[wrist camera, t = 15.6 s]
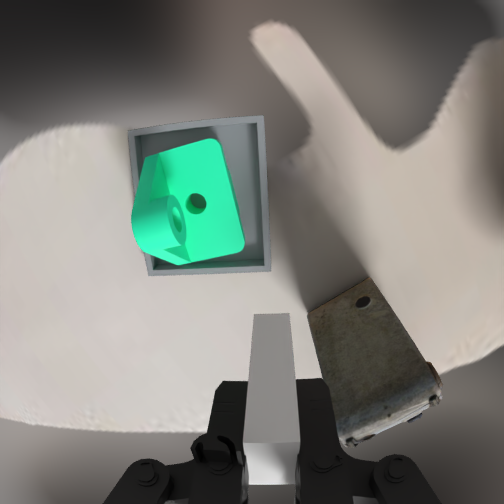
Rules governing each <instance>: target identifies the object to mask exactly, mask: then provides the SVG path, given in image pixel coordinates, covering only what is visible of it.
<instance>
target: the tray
mask: <svg viewBox="0 0 504 504" xmlns="http://www.w3.org/2000/svg"><path fill="white" fill-rule="evenodd" d="M211 138H213V139H217V140H218V141H220V143H221V144H222V147H223V151H224V155H225V159H226V163H227V167H228V170H230V174H231V178H232V182H233V186H234V190H235V194H236V198H237V202H238V206H239V210H240V213H239V215H240V219H241V223H242V227H243V231H244V235H245V245H244V248H243V249H242V250H241V251H240V252H238V253H234V254H229V255H225V256H220V257H215V258H210V259H206V260H201V261H196V262H192V263H187V264H182V265H176V264H173V263H171V262H168V261H166V260H163V259H161V258H158V257H155V256H153V255H150V254H148V253H145V252H144V255H145V261H146V266H147V271H148V276H166V275H196V274H222V273H246V272H269V271H271V250H270V226H269V204H268V184H267V164H266V146H265V129H264V115H260V116H243V117H229V118H217V119H208V120H198V121H189V122H181V123H173V124H166V125H159V126H153V127H147V128H141V129H135V130H129V131H128V139H129V150H130V160H131V169H132V177H133V185H134V193H135V196H136V192H137V188H138V184H139V180H140V176H141V172H142V168H143V164H144V160H145V157H148V156H151V155H154V154H157V153H160V152H164V151H167V150H170V149H173V148H177V147H180V146H184V145H187V144H190V143H194V142H198V141H201V140H205V139H211ZM191 203H192V204H193V205H194V206H195V207H196V208H205V207H206V200H205V198H204V197H203V196H202V195H201V194H198V193H193V194H191Z"/></svg>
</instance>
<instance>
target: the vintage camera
mask: <svg viewBox="0 0 504 504" xmlns="http://www.w3.org/2000/svg"><path fill="white" fill-rule="evenodd" d="M307 318H308V322H309V327H310V330H311V334H312V338H313V342H314V345H315V349H316V354H317V358H318V361H319V365H320V369H321V373H322V378H323V380H324V382H325V383H326V384H327V385H328V387H329V389H330V394H331V401H332V405H333V410H334V415H335V421H336V426H337V432H338V437H339V439H340V440H341V442H342V444H343V445H344V446H346V447H351V448H353V447H356V445H357V444H358V443H359V442H363V441H368V440H370V439H372V438H373V437H375V435H376V434H377V433H379V432H381V431H383V430H386V429H388V428H390V427H392V426H394V425H397V424H399V423H401V422H405V421H408V423H410V422H414V421H415V420H417V419H418V418H420V417H421V416H422V413H421V412H422V410H424V409H426V408H429V407H431V406H436V405H438V404H439V402H440V400H441V399H442V393H441V389H442V386H443V384H442V382H441V379H440V377H439V375H438V373H437V371H436V370H435V368H434V367H433V365H432V363H431V362H426V361H425V359H424V358H423V356H422V355H421V353H420V351H419V350H418V348H417V347H416V345H415V343H414V342H413V340H412V339H411V337H410V336H409V334H408V333H407V331H406V330H405V328H404V326H403V325H402V323H401V322H400V320H399V319H398V317H397V316H396V314H395V313H394V311H393V310H392V308H391V307H390V305H389V304H388V302H387V301H386V299H385V298H384V296H383V295H382V293H381V292H380V290H379V289H378V287H377V286H376V285H375V283H374V282H373V280H372V279H371V278H367V279H366V280H364V281H363V282H361V283H359V284H357V285H356V286H354V287H352V288H351V289H349V290H347V291H346V292H344V293H342V294H341V295H339V296H337V297H336V298H334V299H332V300H331V301H329V302H327V303H325V304H323V305H322V306H320V307H318V308H317V309H315V310H313V311H311V312H310V313H308V315H307Z"/></svg>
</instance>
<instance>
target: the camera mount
mask: <svg viewBox="0 0 504 504" xmlns="http://www.w3.org/2000/svg"><path fill="white" fill-rule="evenodd" d="M193 193H198V194H201V195H202V196H203V197H204V198H205V200H206V207H205V208H196V207H195V206H194V205H193V204H192V203H191V194H193ZM239 213H240V210H239V206H238V202H237V198H236V194H235V190H234V186H233V182H232V178H231V174H230V170H228V167H227V163H226V159H225V155H224V151H223V147H222V144H221V143H220V141H218V140H217V139H213V138H211V139H205V140H201V141H198V142H194V143H190V144H187V145H184V146H180V147H177V148H173V149H170V150H167V151H164V152H160V153H157V154H154V155H151V156H148V157H145V160H144V164H143V168H142V172H141V176H140V180H139V184H138V188H137V192H136V196H135V200H134V205H133V209H132V215H131V223H132V229H133V234H134V237H135V239H136V242H137V244H138V245H139V247H140V248H141V249H142V251H144V252H145V253H148V254H150V255H153V256H155V257H158V258H161V259H163V260H166V261H168V262H171V263H173V264H176V265H182V264H187V263H192V262H196V261H201V260H206V259H210V258H215V257H220V256H225V255H229V254H234V253H238V252H240V251H241V250H242V249H243V248H244V245H245V235H244V231H243V227H242V223H241V219H240V215H239Z"/></svg>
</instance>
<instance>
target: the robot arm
mask: <svg viewBox="0 0 504 504" xmlns="http://www.w3.org/2000/svg"><path fill="white" fill-rule="evenodd" d="M191 451H192V454H193V456H194V459H193V460H191V461H189V462H185V463H180V464H174V465H167V466H165V465H164V464H163V463H161V462H159V461H158V460H154V459H141V460H138V461H136V462H134V463H133V464H131V465H130V467H128V469H127V470H126V471H125V473H124V474H123V476H122V477H121V479H120V480H119V481H118V483H117V484H116V486H115V487H114V489H113V490H112V491H111V493H110V494H109V496H108V497H107V499H106V500H105V501H104V503H103V504H249V497H248V485H249V484H255V485H257V484H259V485H261V484H262V485H270V484H271V485H272V484H295V489H296V495H295V500H294V504H441V502H440V500H439V499H438V497H437V496H436V494H435V493H434V491H433V490H432V488H431V487H430V485H429V484H428V482H427V480H426V479H425V478H424V476H423V475H422V473H421V471H420V470H419V468H418V467H417V465H416V464H415V463H414V462H413V461H412V460H411V459H410V458H409V457H406V456H404V455H397V454H394V455H389V456H386V457H384V458H383V459H381V460H379V462H374V461H365V460H359V459H355V458H353V457H351V456H349V455H348V454H346V453H345V452H344V451H343V449H342V448H341V445H340V443H339V437H338V432H337V426H336V421H335V415H334V410H333V405H332V401H331V394H330V389H329V387H328V385H327V384H326V383H325V382H324V380H323V379H322V378H314V379H295V367H294V356H293V345H292V334H291V324H290V314H289V313H282V314H254V320H253V332H252V344H251V356H250V367H249V379H248V381H223V382H222V383H221V384H220V385H219V387H218V388H217V389H216V391H215V395H214V400H213V405H212V410H211V415H210V420H209V425H208V430H207V433H206V434H203V435H201V436H199V437H198V438H197V439H196V440H195V441H194V442H193V444H192V446H191Z"/></svg>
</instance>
